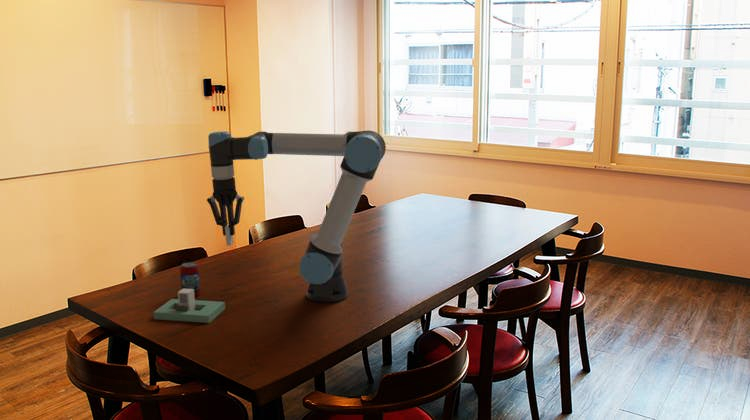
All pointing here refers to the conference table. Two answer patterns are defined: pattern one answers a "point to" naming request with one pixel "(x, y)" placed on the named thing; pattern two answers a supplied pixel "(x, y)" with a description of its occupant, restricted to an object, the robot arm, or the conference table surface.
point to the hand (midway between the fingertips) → (230, 244)
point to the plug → (186, 298)
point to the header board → (189, 311)
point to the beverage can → (190, 277)
